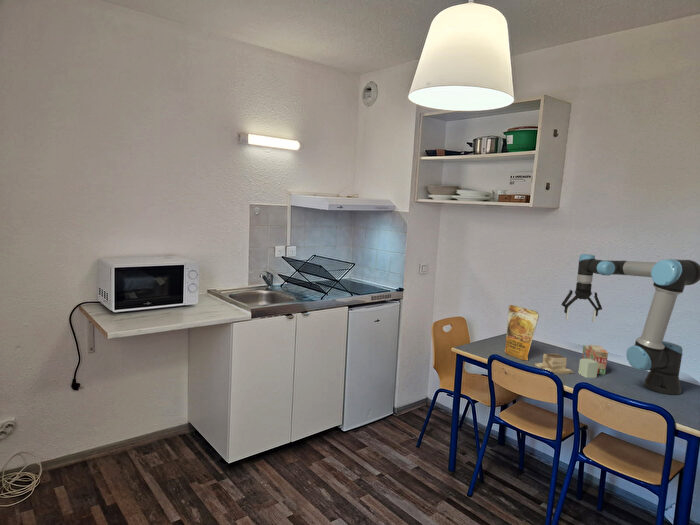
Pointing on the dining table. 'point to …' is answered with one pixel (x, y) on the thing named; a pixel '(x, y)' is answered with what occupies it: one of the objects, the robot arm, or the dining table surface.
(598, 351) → the printed food box
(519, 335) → the pancake mix bag
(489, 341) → the dining table surface
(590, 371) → the sage block
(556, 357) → the tower base
